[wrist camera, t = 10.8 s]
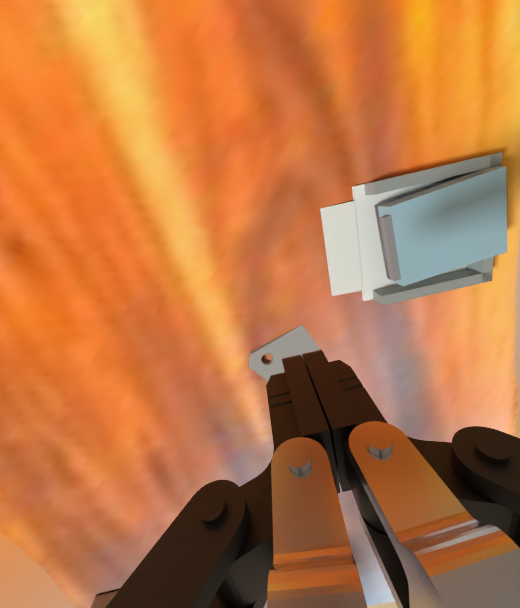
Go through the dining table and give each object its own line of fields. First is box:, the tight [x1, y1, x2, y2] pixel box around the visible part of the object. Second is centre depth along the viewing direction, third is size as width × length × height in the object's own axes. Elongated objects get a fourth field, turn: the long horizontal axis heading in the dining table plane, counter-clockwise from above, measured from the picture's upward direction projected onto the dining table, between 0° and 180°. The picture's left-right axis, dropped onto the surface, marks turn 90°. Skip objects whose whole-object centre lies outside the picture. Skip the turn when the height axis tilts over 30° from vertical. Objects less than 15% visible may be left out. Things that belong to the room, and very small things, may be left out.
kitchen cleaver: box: [248, 325, 339, 482], centre depth 34 cm, size 24×1×10 cm
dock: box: [320, 152, 503, 305], centre depth 26 cm, size 12×15×2 cm
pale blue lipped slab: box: [374, 166, 507, 286], centre depth 25 cm, size 7×10×4 cm
